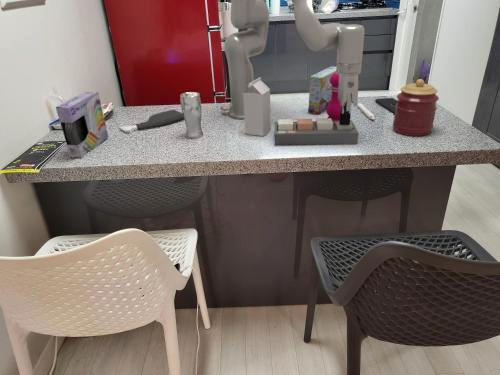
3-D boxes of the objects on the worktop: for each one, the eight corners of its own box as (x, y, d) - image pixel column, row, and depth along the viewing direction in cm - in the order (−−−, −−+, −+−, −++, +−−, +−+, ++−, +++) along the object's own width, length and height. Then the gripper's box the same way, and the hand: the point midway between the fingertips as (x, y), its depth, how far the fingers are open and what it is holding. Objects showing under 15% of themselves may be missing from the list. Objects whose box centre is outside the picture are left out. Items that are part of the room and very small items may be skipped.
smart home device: (395, 112, 143) (374, 98, 161) (395, 117, 144) (374, 102, 162) (416, 111, 144) (392, 97, 162) (415, 115, 145) (392, 101, 162)
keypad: (274, 145, 124) (274, 133, 122) (274, 132, 134) (274, 121, 132) (357, 144, 122) (358, 132, 120) (350, 131, 132) (351, 119, 130)
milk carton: (270, 130, 137) (269, 77, 128) (263, 136, 131) (261, 82, 122) (253, 127, 140) (251, 76, 130) (245, 134, 134) (242, 81, 125)
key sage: (336, 137, 125) (337, 126, 123) (334, 132, 129) (335, 121, 127) (351, 137, 124) (352, 126, 122) (349, 132, 129) (350, 121, 127)
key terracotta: (297, 134, 125) (297, 123, 123) (296, 129, 129) (297, 118, 127) (312, 134, 125) (313, 123, 123) (311, 129, 129) (311, 118, 127)
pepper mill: (345, 125, 137) (350, 70, 128) (325, 125, 139) (328, 70, 129) (345, 119, 143) (349, 65, 134) (326, 118, 145) (329, 65, 135)
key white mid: (317, 134, 124) (317, 123, 123) (315, 129, 129) (316, 118, 127) (332, 133, 124) (333, 123, 122) (330, 128, 128) (331, 118, 127)
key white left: (278, 135, 125) (278, 124, 124) (278, 129, 130) (278, 119, 128) (293, 134, 125) (293, 123, 123) (292, 129, 129) (292, 119, 128)
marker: (376, 121, 140) (376, 115, 139) (370, 122, 140) (371, 116, 139) (361, 107, 156) (362, 102, 155) (356, 108, 156) (357, 102, 155)
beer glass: (196, 130, 140) (191, 90, 132) (208, 134, 135) (204, 93, 128) (181, 136, 136) (175, 95, 128) (192, 140, 131) (187, 98, 124)
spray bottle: (186, 121, 151) (129, 138, 138) (173, 115, 159) (118, 130, 146) (185, 114, 150) (128, 130, 137) (172, 108, 157) (116, 123, 145)
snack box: (320, 115, 149) (322, 77, 141) (307, 113, 152) (308, 76, 144) (340, 101, 164) (342, 66, 157) (328, 100, 167) (330, 65, 159)
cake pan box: (81, 160, 121) (65, 106, 112) (67, 159, 122) (50, 106, 113) (110, 138, 137) (99, 90, 129) (98, 137, 138) (85, 90, 129)
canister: (385, 131, 130) (392, 80, 122) (401, 121, 138) (409, 73, 130) (423, 139, 122) (433, 85, 114) (437, 128, 131) (448, 77, 122)
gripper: (366, 72, 109) (360, 132, 118) (356, 62, 122) (351, 117, 131) (340, 73, 110) (336, 132, 118) (333, 63, 123) (330, 117, 131)
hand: (344, 124), depth 125 cm, fingers closed
